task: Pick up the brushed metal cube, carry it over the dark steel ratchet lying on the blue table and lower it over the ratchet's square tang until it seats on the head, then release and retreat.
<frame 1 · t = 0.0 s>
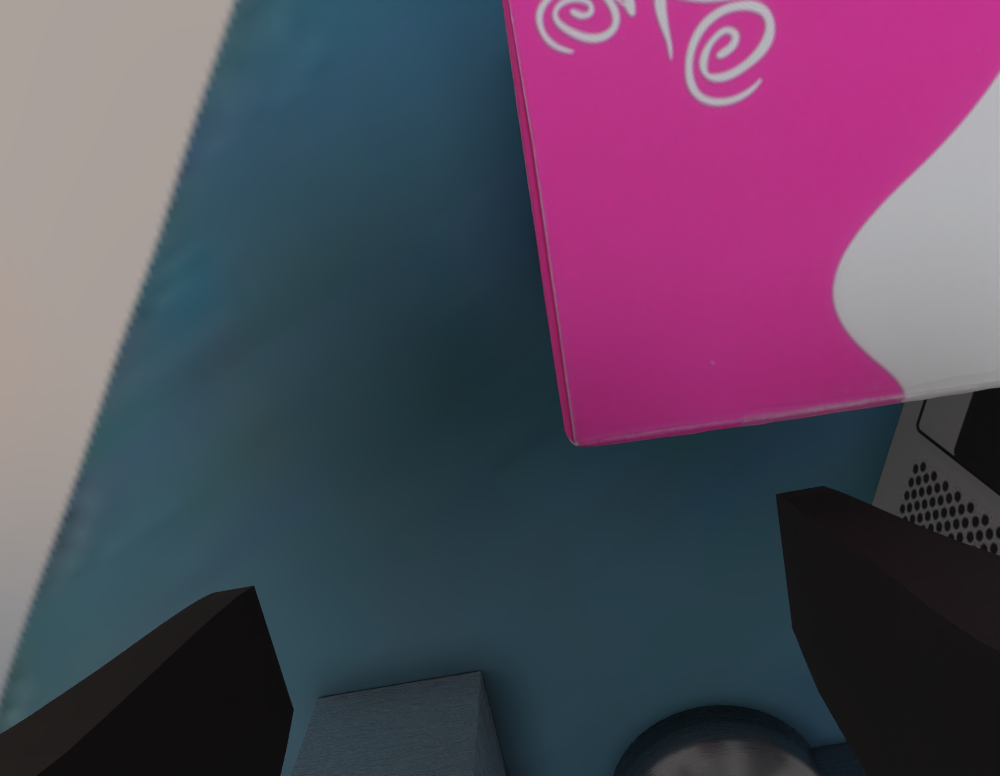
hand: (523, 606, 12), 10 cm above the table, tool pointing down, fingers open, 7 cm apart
cassette player: (976, 335, 21), on the table
supplement box: (651, 144, 20), on the table
brushed metal cube: (418, 753, 25), on the table
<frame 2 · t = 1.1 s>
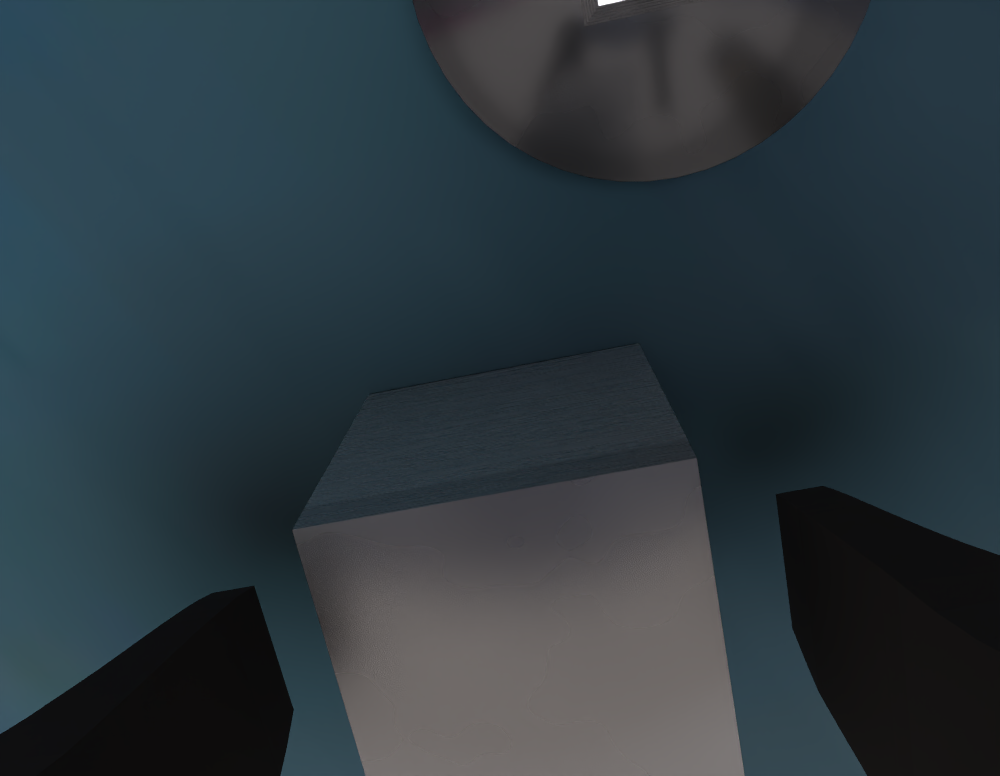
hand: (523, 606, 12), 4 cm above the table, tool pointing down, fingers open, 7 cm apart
brushed metal cube: (528, 493, 15), on the table
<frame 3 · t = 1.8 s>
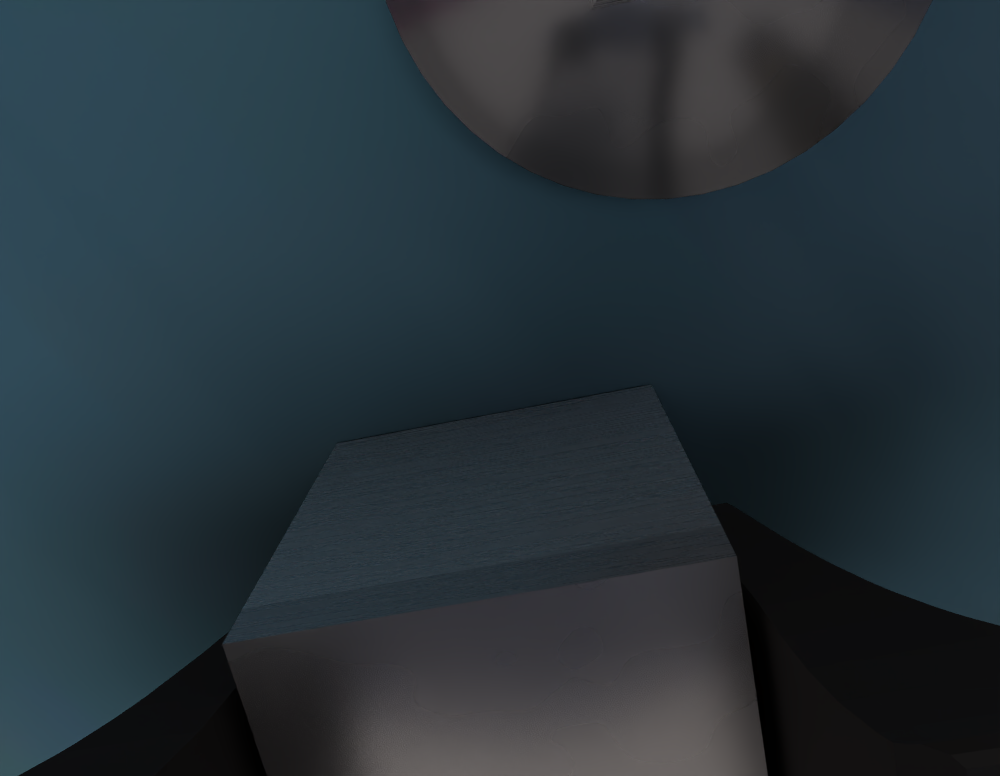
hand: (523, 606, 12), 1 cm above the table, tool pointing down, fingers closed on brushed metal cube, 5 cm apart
brushed metal cube: (522, 556, 13), on the table, touching gripper
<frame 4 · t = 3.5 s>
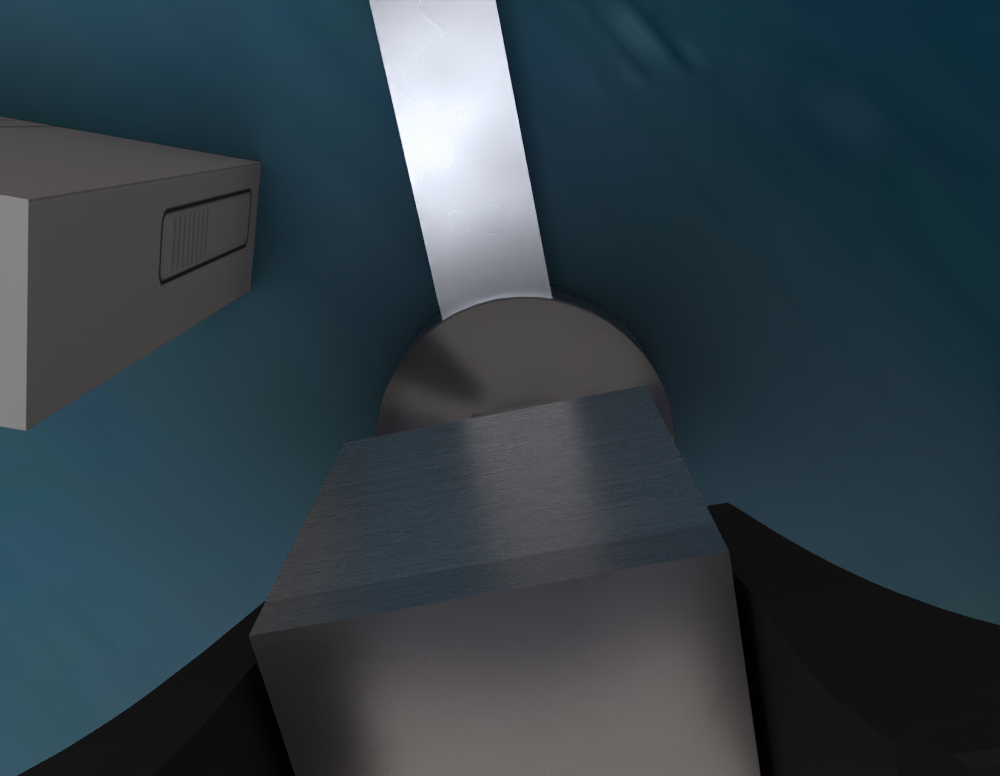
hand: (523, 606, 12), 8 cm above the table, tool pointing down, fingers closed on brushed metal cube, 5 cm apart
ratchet: (524, 415, 20), on the table
brushed metal cube: (522, 550, 14), point 6 cm above the table, touching gripper
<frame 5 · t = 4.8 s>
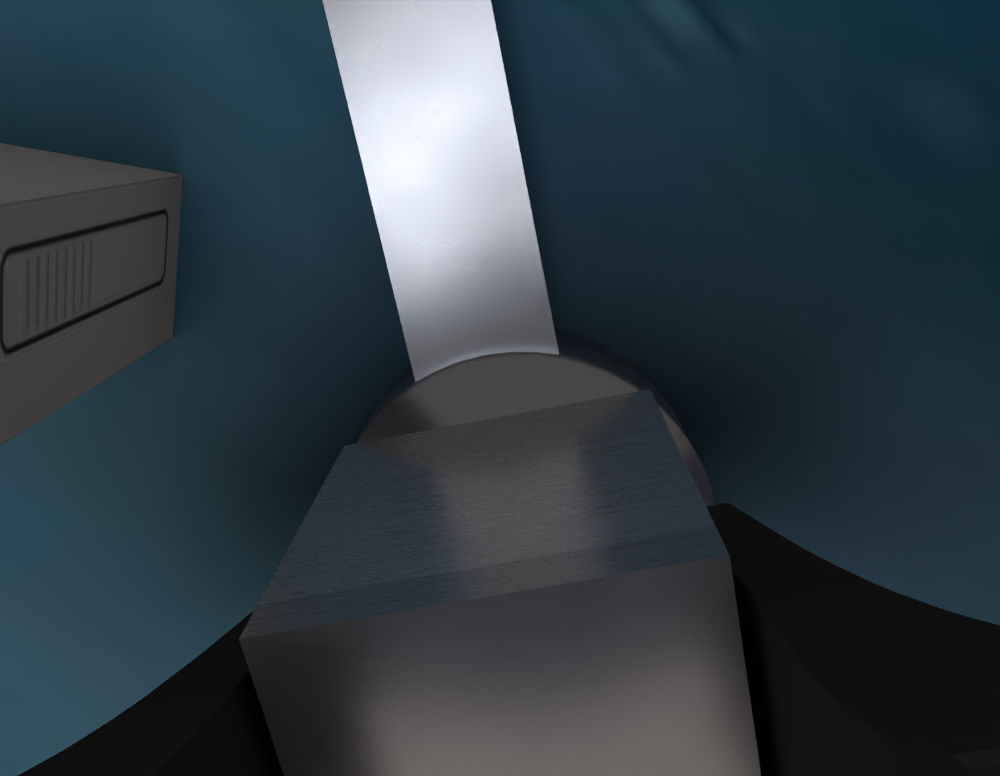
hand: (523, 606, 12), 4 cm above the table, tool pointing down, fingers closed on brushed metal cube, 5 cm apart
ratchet: (522, 493, 15), on the table
brushed metal cube: (524, 556, 14), point 2 cm above the table, touching gripper
when the fingers open (4 cm above the table, at t = 5.4 s): brushed metal cube stays where it is, resting on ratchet.
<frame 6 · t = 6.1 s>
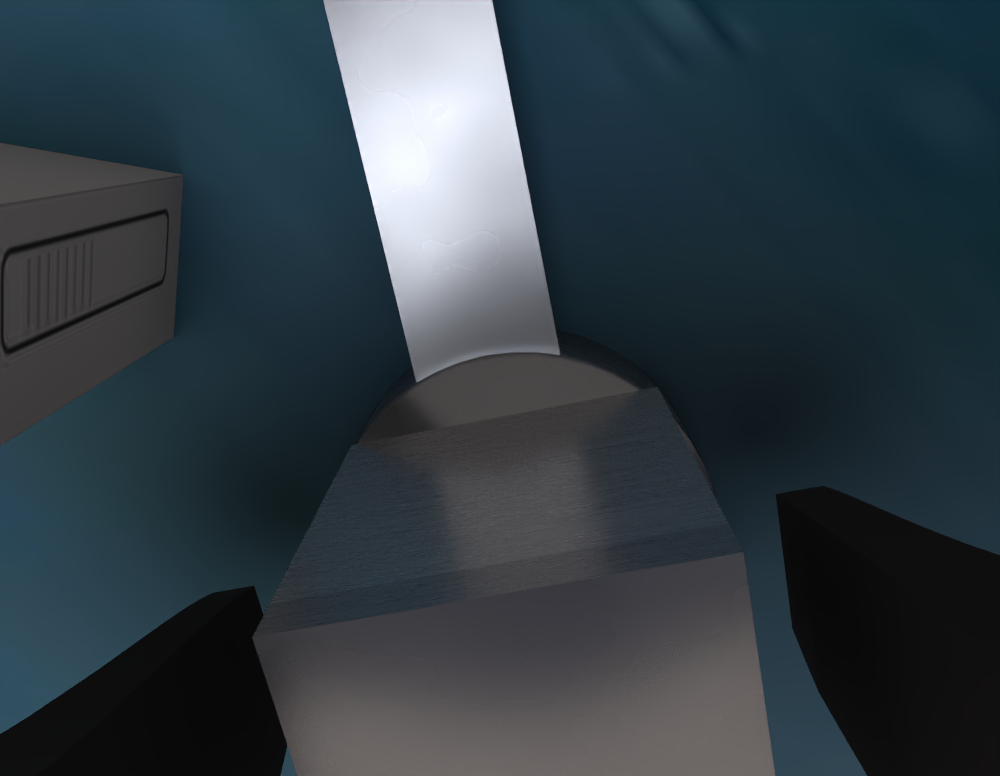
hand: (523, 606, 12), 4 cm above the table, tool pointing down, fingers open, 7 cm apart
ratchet: (523, 494, 15), on the table, touching brushed metal cube
brushed metal cube: (532, 554, 14), point 2 cm above the table, touching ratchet
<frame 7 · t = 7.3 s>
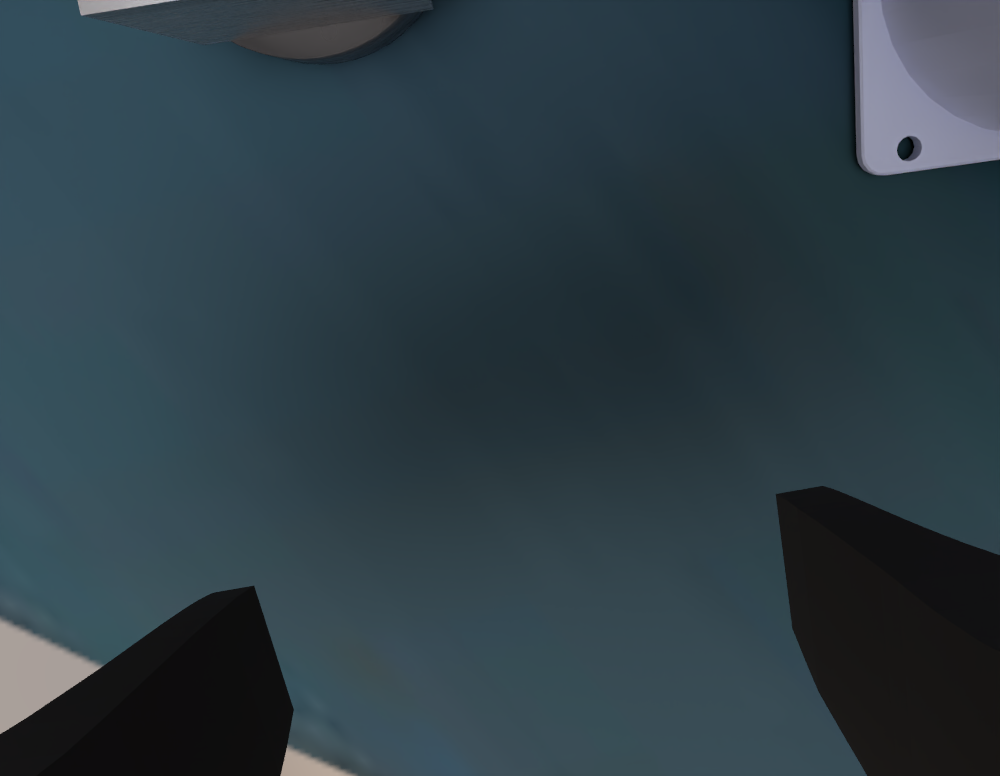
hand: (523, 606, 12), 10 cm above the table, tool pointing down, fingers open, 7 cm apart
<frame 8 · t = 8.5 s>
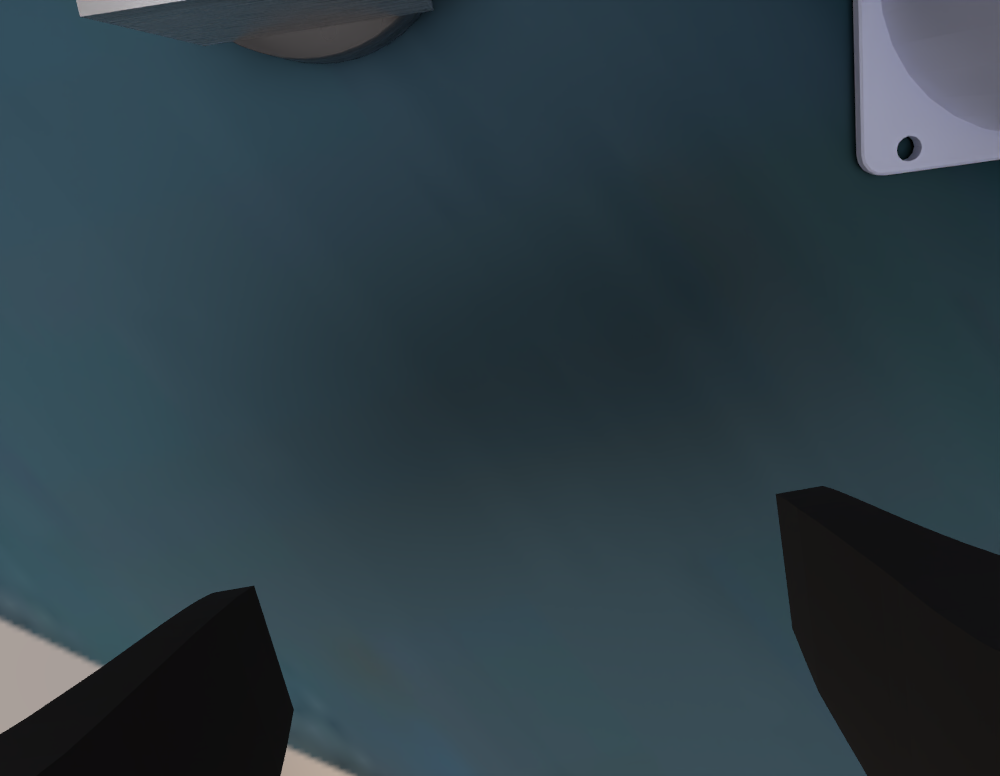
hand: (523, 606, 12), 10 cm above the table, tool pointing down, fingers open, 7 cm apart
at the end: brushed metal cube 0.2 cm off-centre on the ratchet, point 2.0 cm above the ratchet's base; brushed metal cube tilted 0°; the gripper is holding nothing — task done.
